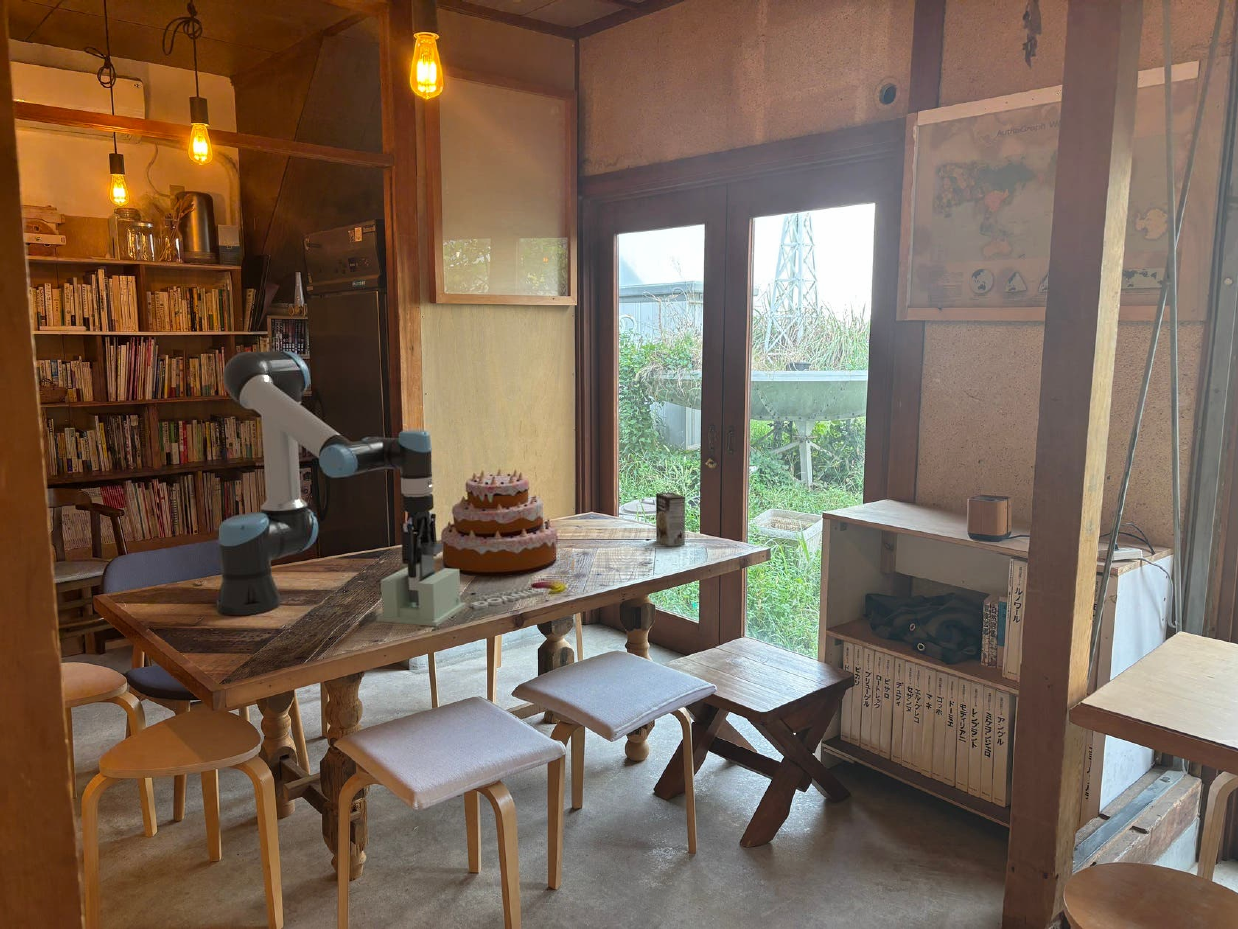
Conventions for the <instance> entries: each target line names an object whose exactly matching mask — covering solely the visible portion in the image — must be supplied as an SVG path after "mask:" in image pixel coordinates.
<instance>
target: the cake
mask: <svg viewBox="0 0 1238 929" xmlns="http://www.w3.org/2000/svg"><path fill="white" fill-rule="evenodd" d="M529 491H530V481H529V478H528V477H527V476H524V475H523V473H522V472H520V473H518V472H517V469H516V468H515V469H514V472H513V474H510V473H507V474H505V473H504V474H503V472H502V471H501V468H499V469H498V471H497V474H491V473H490V474H486V473H485V472H484V470H483V469H482V470H481V473H480V476H477V474H476V473H475V472H474V473H473V474H472V477H470V478H468V479H467V480H466V481H465V492H466V496H467V498H466V497H465V496H464V495H462V498H461V500H460V501H459V502H457V503H455V504H454V505H453V506H452V509H451V513H452V516H453V517H452V519H453V522H452V523H451V522H450V521H448V522H447V525H446V526H445V527H444V528H442V531H441V534H440V543H443V551H442V562H443V567H444V568H448V569H459V575H463V576H471V577H485V578H487V577H488V578H489V577H491V578H492V577H509V575H513V576H519V575H526V573H527V574H532V573H535V572H539V571H543V570H546V569H548V568H550V567H551V566H553V565H554V564H555V563H556V561H557V546H558V542H559V541H558V540H559V539H558V532H557V531H558V530H557V527H556V525H555V524H554V523H553V522H551V520H550V518H547V520H546V519H545V518H544V515H543V514H544V513H543V512H544V509H543V508H544V506H543V505H544V502H543V500H542V499H541V498H539V497H537V495H536V494H535V495H534V496H533V495H530V494H529ZM542 569H543V570H542ZM531 572H532V573H531Z"/></svg>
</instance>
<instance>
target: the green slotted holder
mask: <svg viewBox="0 0 1238 929" xmlns="http://www.w3.org/2000/svg"><path fill="white" fill-rule="evenodd" d="M460 575H461V574H459V569H448V568H445V567H444V568H443V569H441V570H439V571H437V572H434V575H432V576H430V577H428V578H426V579H424V580H423V581H421V582H419V583H418V595H419V603H414V602H409V588H408V567H403V568H402V569H400V570H398V571H396V572H394V573H392V574H390V575H388V576H386V577H384V578H382V579H381V580H380V593H381V611H382V612H381V614H380V615H378V616H376V622H384V623H394V624H396V623H397V624H407V625H418V626H430V627H438V626H440V625H441V624H442V623H444V622H445V621H447V620H448V619H450V618H451V617H453V616H454V615H456V614H457V613H459V612H460V611H462V610H464V609H465V608H466V607H467V603H466V602H461V580H460Z"/></svg>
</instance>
